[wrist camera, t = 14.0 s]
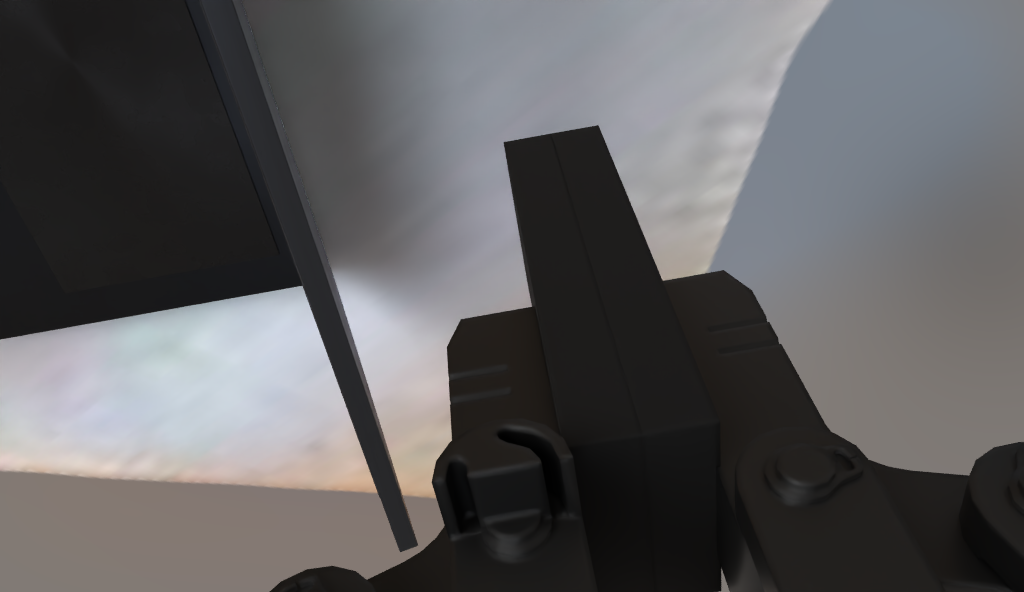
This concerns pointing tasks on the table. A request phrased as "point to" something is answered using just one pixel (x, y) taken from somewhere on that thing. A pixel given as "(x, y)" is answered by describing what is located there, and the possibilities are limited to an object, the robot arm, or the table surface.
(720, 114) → the table surface
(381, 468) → the laptop screen
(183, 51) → the laptop
